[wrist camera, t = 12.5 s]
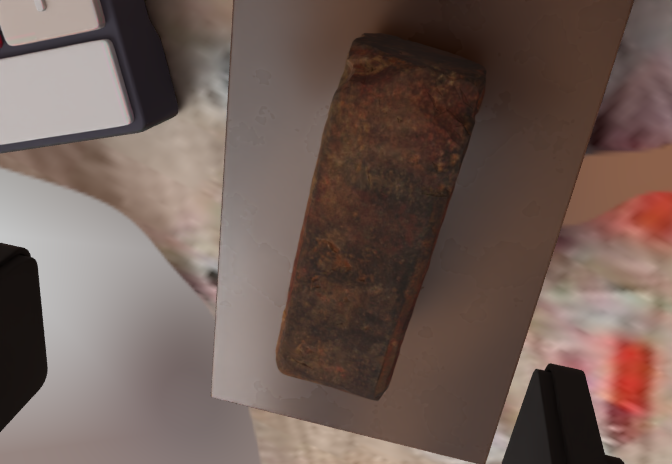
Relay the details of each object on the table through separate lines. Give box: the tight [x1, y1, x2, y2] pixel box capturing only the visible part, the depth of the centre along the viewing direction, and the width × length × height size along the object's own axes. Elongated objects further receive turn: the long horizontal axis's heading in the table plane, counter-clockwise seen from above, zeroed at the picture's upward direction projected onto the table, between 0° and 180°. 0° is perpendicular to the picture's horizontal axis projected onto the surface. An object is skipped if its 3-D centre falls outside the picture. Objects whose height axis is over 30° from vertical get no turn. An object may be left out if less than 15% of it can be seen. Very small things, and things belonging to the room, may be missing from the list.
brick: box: [275, 33, 487, 401], centre depth 20 cm, size 11×4×5 cm, turn 167°
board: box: [211, 0, 634, 464], centre depth 23 cm, size 12×22×2 cm, turn 172°
